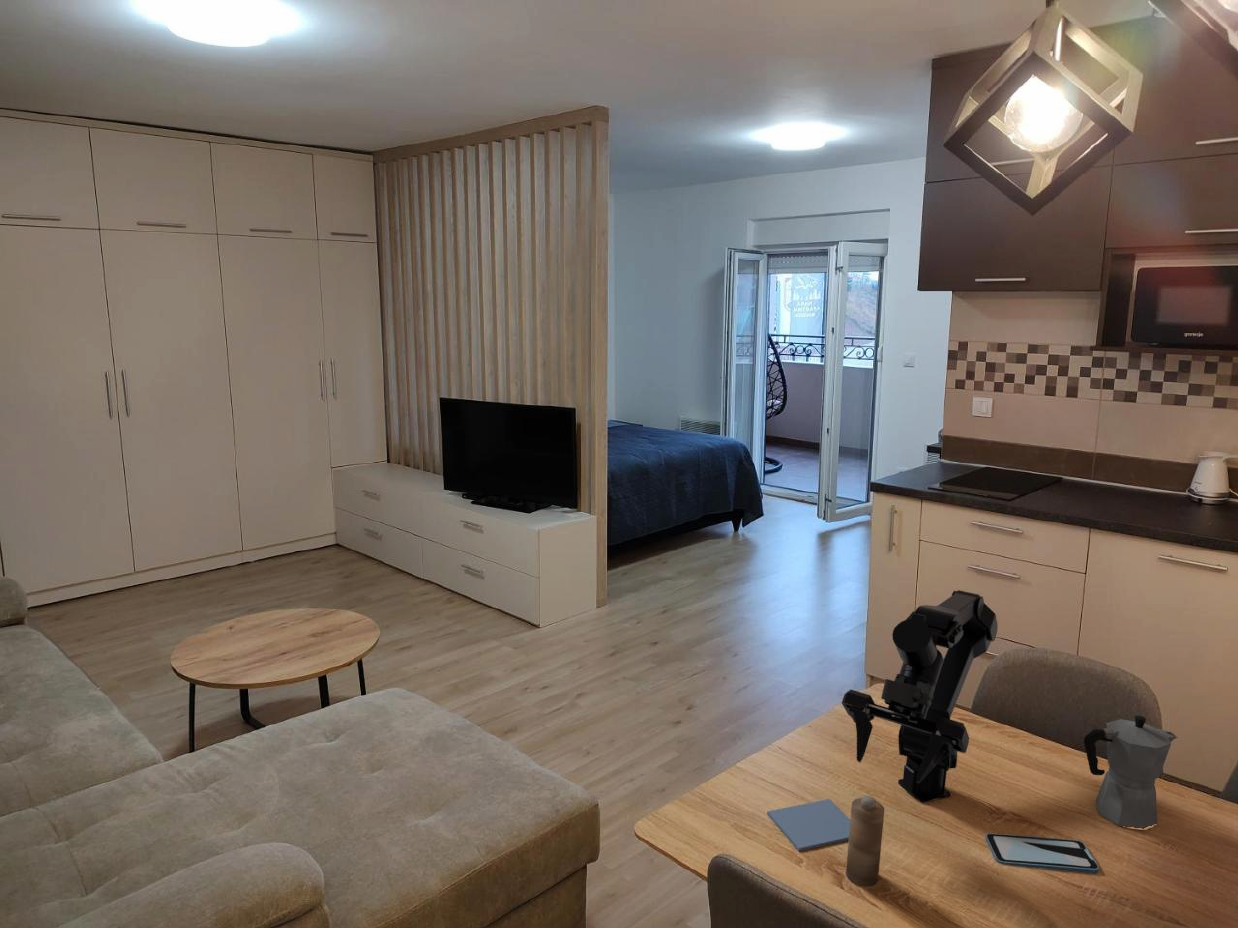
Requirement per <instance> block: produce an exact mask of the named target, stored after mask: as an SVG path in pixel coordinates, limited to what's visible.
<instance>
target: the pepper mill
mask: <svg viewBox="0 0 1238 928" xmlns="http://www.w3.org/2000/svg"><path fill="white" fill-rule="evenodd" d="M884 820H885V807H884V806H883V804H882V803H881V802H879V801H877V800H876V798H875V797H873V796H871V795H863V796H861V797H858V798H855V799H854V800H852V802H851V810H850V832H849V840H848V844H847V858H846V869H845V870H846V871H845V876H846V877H847V879H848V880H849V882H850V883H852V884H854V885H857V886H858V887H862V888H870V887H874V886H875V885H877V884H878V883H879V873H880V864H881V863H880V862H881V852H882V840H883V832H884V831H883V830H884Z"/></svg>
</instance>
